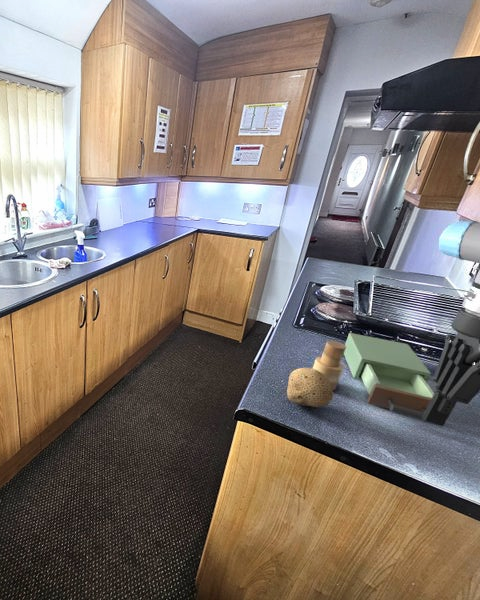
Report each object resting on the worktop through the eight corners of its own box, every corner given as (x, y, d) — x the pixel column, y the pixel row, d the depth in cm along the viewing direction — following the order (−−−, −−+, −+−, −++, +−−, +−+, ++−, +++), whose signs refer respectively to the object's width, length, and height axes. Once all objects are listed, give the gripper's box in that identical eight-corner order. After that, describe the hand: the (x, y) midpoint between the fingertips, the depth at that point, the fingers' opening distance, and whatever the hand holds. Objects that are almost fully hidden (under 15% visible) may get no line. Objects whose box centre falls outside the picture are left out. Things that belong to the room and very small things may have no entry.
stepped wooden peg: (333, 382, 88) (348, 342, 84) (337, 395, 84) (353, 353, 79) (307, 376, 91) (320, 336, 86) (309, 387, 86) (323, 346, 81)
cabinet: (419, 395, 84) (431, 373, 81) (353, 379, 90) (361, 358, 87) (398, 363, 98) (407, 344, 95) (342, 351, 104) (349, 332, 101)
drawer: (446, 434, 70) (457, 416, 68) (372, 414, 76) (380, 397, 74) (413, 384, 87) (421, 369, 85) (354, 370, 92) (360, 356, 90)
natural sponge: (330, 405, 79) (343, 372, 75) (320, 424, 74) (334, 389, 70) (288, 388, 85) (298, 356, 81) (277, 404, 80) (287, 371, 76)
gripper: (445, 298, 63) (397, 396, 72) (481, 324, 53) (419, 435, 61) (500, 306, 60) (443, 408, 69) (551, 335, 49) (475, 451, 58)
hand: (432, 421), depth 65 cm, fingers closed
